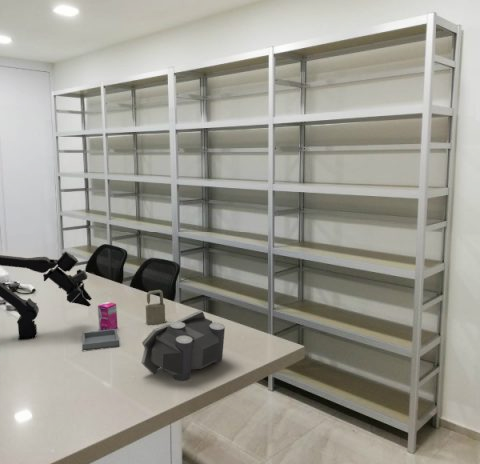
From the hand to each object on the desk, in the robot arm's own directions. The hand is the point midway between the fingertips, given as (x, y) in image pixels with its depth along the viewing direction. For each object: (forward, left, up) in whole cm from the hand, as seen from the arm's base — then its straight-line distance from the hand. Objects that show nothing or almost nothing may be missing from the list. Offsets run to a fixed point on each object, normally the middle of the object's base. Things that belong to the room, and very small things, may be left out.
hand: (90, 302), depth 217 cm
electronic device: (+31, -51, -13) cm, 61 cm away
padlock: (+28, +2, -13) cm, 31 cm away
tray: (+3, -15, -13) cm, 20 cm away
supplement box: (+7, 0, -13) cm, 15 cm away
